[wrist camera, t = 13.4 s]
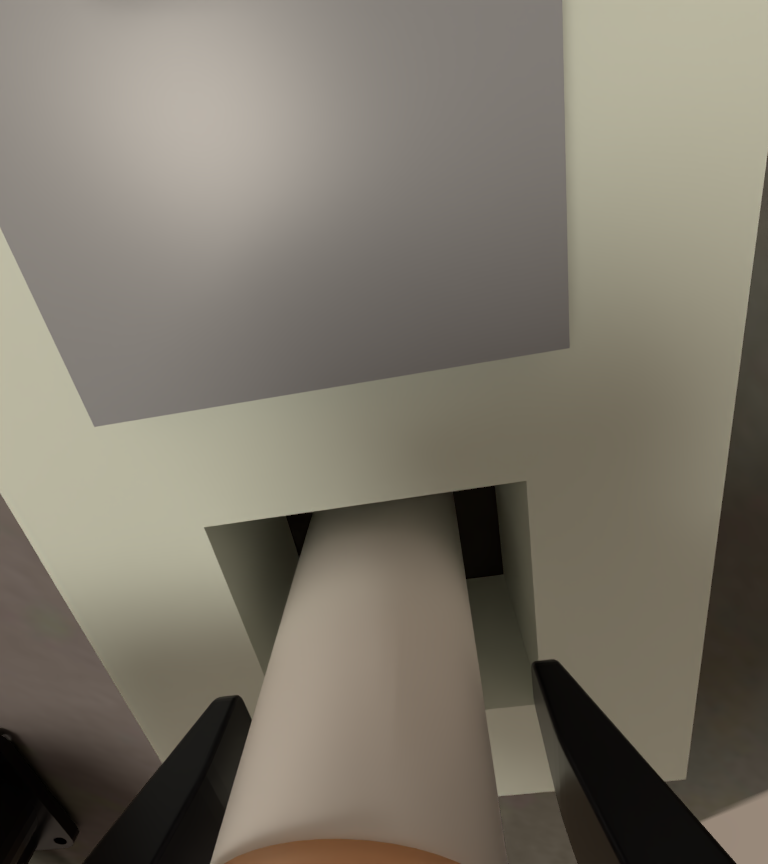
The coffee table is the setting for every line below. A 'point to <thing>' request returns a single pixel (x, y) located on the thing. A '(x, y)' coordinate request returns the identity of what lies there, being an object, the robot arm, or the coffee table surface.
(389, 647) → the plug
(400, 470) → the socket block
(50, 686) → the coffee table surface
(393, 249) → the shutter
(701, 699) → the coffee table surface
